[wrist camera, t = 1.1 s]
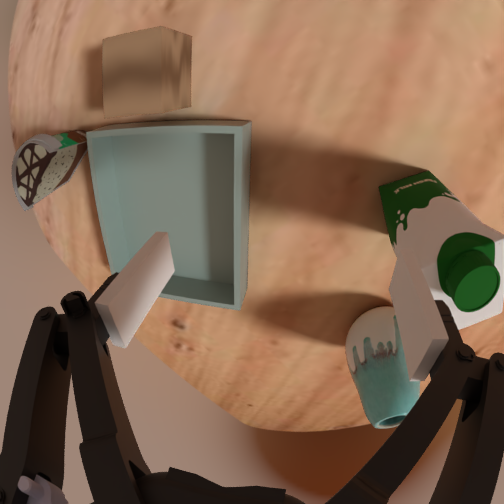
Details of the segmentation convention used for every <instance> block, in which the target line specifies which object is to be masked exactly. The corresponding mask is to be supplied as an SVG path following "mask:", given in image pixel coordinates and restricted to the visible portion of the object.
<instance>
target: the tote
mask: <svg viewBox="0 0 504 504" xmlns="http://www.w3.org/2000/svg"><path fill="white" fill-rule="evenodd" d="M251 125H252V121H240V120H174V121H152V122H137V123H124V124H114V125H107V126H104V127H101V128H98V129H95V130H92V131H89V132H86V136H87V146H88V154H89V162H90V169H91V176H92V183H93V189H94V195H95V201H96V206H97V212H98V217H99V222H100V227H101V231H102V236H103V240H104V245H105V249H106V253H107V257H108V261H109V265H110V269H111V273H112V275H113V274H114V273H116V272H118V273H120V272H121V271H122V269H123V268H124V267H125V266H126V265H127V264H128V262H129V261H130V260H131V259H132V258H133V257H134V256H135V254H136V253H137V252H138V251H139V250H140V249H141V248H142V247H143V246H144V244H145V243H146V242H147V241H148V240H149V239H150V238H151V237H152V236H153V235H154V233H155V232H156V231H157V232H168V237H169V243H170V248H171V254H172V259H173V264H174V269H175V271H174V273H173V274H172V276H171V278H170V279H169V281H168V282H167V284H166V285H165V287H164V288H163V290H162V291H161V293H160V294H159V296H158V297H162V298H167V299H173V300H178V301H184V302H190V303H195V304H201V305H207V306H214V307H220V308H226V309H233V310H240V309H241V306H242V303H243V300H244V297H245V294H246V290H247V277H248V236H249V197H250V160H251Z"/></svg>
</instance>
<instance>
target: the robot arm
mask: <svg viewBox="0 0 504 504" xmlns="http://www.w3.org/2000/svg"><path fill="white" fill-rule="evenodd" d="M174 271H175V269H174V264H173V259H172V254H171V248H170V243H169V237H168V232H157V231H156V232H155V233H154V235H153V236H152V237H151V238H150V239H149V240H148V241H147V242H146V243H145V244H144V246H143V247H142V248H141V249H140V250H139V251H138V252H137V253H136V254H135V256H134V257H133V258H132V259H131V260H130V261H129V262H128V264H127V265H126V266H125V267H124V268H123V269H122V271H121V272H120V273H118V272H116V273H114V274H113V275H111V276H110V277H108V278H107V280H106V281H105V282H104V283H103V285H101V287H100V288H99V289H98V290H97V291H96V292H95V294H94V295H93V296H92V297H91V298H90V300H89V301H88V302H87V299H86V297H85V295H84V293H83V292H81V291H74V292H71V293H68V294H67V295H66V296H64V297H63V299H62V300H61V306H62V308H63V310H64V312H65V314H57V312H56V310H55V309H54V308H53V307H45V308H42V309H41V310H40V311H38V313H37V314H36V316H35V318H34V320H33V323H32V326H31V329H30V332H29V335H28V338H27V341H26V344H25V347H24V350H23V354H22V357H21V361H20V364H19V368H18V371H17V375H16V379H15V383H14V387H13V391H12V396H11V400H10V405H9V410H8V415H7V421H6V427H5V433H4V440H3V447H2V452H1V454H0V504H68V501H67V500H66V499H65V495H64V494H63V492H62V486H63V479H64V449H65V429H66V428H65V427H66V415H67V404H68V394H69V386H70V379H71V374H72V381H73V388H74V395H75V401H76V407H77V412H78V418H79V422H80V427H81V432H82V436H83V442H82V443H80V446H79V449H80V454H81V458H82V462H83V466H84V470H85V473H86V476H87V480H88V484H89V487H90V490H91V493H92V496H93V499H94V502H93V503H91V504H305V503H304V502H302V501H300V500H299V499H297V498H295V497H293V496H290V495H287V494H285V492H286V489H278V488H269V487H261V486H246V487H222V486H220V485H218V484H215V483H213V482H211V481H209V480H207V479H205V478H203V477H201V476H199V475H197V474H194V473H190V472H186V471H182V470H179V469H175V468H172V467H170V468H169V471H168V472H158V473H151V471H150V469H149V468H148V466H147V465H146V463H145V461H144V460H143V457H142V455H141V452H140V450H139V447H138V444H137V442H136V439H135V436H134V434H133V431H132V428H131V425H130V422H129V419H128V416H127V413H126V410H125V407H124V404H123V400H122V397H121V394H120V390H119V387H118V384H117V380H116V376H115V372H114V369H113V365H112V361H111V357H110V353H109V348H108V345H107V343H106V341H107V340H108V338H109V337H110V339H111V341H112V343H113V345H116V346H119V347H123V348H126V347H127V345H128V344H129V342H130V341H131V339H132V337H133V336H134V334H135V333H136V331H137V329H138V328H139V326H140V324H141V323H142V321H143V320H144V318H145V316H146V315H147V313H148V312H149V310H150V309H151V307H152V305H153V304H154V302H155V301H156V299H157V298H158V296H159V294H160V293H161V291H162V290H163V288H164V287H165V285H166V284H167V282H168V281H169V279H170V278H171V276H172V274H173V273H174ZM389 291H390V295H391V299H392V303H393V306H394V310H395V314H396V319H397V323H398V327H399V331H400V336H401V340H402V345H403V350H404V354H405V359H406V365H407V370H408V375H409V381H425V379H426V378H427V376H428V374H429V373H430V377H431V381H430V383H429V384H428V386H427V387H426V389H425V390H424V392H423V393H422V395H421V396H420V397H419V399H418V400H417V402H416V403H415V405H414V406H413V407H412V409H411V410H410V411H409V413H408V414H407V415H406V417H405V418H404V419H403V421H402V422H401V423H400V425H399V426H398V427H397V428H396V430H395V431H394V432H393V433H392V435H391V436H390V437H389V438H388V439H387V441H386V442H385V443H384V444H383V445H382V446H381V448H380V449H379V450H378V451H377V452H376V453H375V455H374V456H373V457H372V458H371V459H370V460H369V461H368V462H367V463H366V464H365V465H364V466H363V467H362V469H361V470H360V471H359V472H358V473H357V474H356V475H355V476H354V477H353V478H352V479H351V480H350V481H349V482H348V483H347V484H346V485H345V486H344V487H343V488H342V489H340V490H339V492H338V493H336V494H335V495H334V496H333V497H332V498H331V499H330V500H328V502H326V503H325V504H387V502H388V500H389V497H390V496H391V494H392V493H393V492H394V491H395V490H396V489H397V487H398V486H399V485H400V484H401V483H402V481H403V480H404V479H405V478H406V476H407V475H408V474H409V472H410V471H411V470H412V468H413V467H414V466H415V464H416V463H417V462H418V460H419V459H420V457H421V456H422V455H423V453H424V452H425V450H426V448H427V447H428V446H429V444H430V443H431V441H432V440H433V438H434V437H435V435H436V434H437V432H438V430H439V429H440V427H441V426H442V424H443V422H444V421H445V419H446V417H447V416H448V414H449V412H450V410H451V408H452V407H453V405H454V403H455V401H456V399H462V400H463V401H462V406H461V410H460V414H459V418H458V422H457V426H456V430H455V433H454V436H453V440H452V443H451V446H450V449H449V453H448V456H447V459H446V461H445V465H444V467H443V470H442V473H441V475H440V478H439V481H438V483H437V486H436V488H435V491H434V493H433V495H432V497H431V500H430V502H429V504H490V503H491V500H492V497H493V493H494V490H495V486H496V483H497V479H498V475H499V471H500V467H501V462H502V457H503V453H504V354H502V353H494V354H493V355H492V356H491V357H490V359H485V358H481V357H477V356H476V355H475V352H474V351H473V349H472V348H471V347H470V346H468V345H466V344H464V343H463V341H462V338H461V336H460V333H459V331H458V328H457V325H456V323H455V321H454V318H453V316H452V313H451V311H450V309H449V307H448V306H447V305H446V303H445V302H444V301H443V300H434V298H433V296H432V293H431V291H430V288H429V286H428V284H427V282H426V279H425V277H424V275H423V272H422V270H421V268H420V266H419V264H418V262H417V259H416V257H415V255H414V253H413V251H412V250H406V249H399V254H398V258H397V261H396V265H395V269H394V273H393V276H392V280H391V284H390V287H389Z"/></svg>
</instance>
